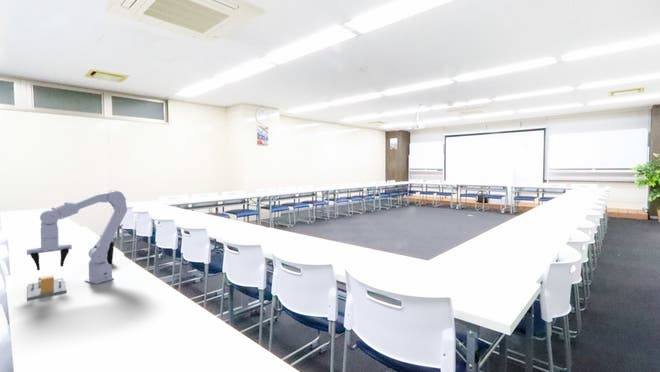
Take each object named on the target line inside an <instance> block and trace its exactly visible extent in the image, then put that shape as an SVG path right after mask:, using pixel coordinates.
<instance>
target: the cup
mask: <svg viewBox="0 0 660 372" xmlns="http://www.w3.org/2000/svg"><path fill="white" fill-rule="evenodd" d="M114 248H115V242H114V241H111V243H110V246H109V250H108V252H107V262H108V263H109V264H110V265H113V258H114Z"/></svg>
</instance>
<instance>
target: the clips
mask: <svg viewBox="0 0 660 372" xmlns="http://www.w3.org/2000/svg"><path fill="white" fill-rule="evenodd" d="M34 283H35V282H31V284H32V289H34ZM60 286H61V280H59V287H60Z"/></svg>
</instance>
